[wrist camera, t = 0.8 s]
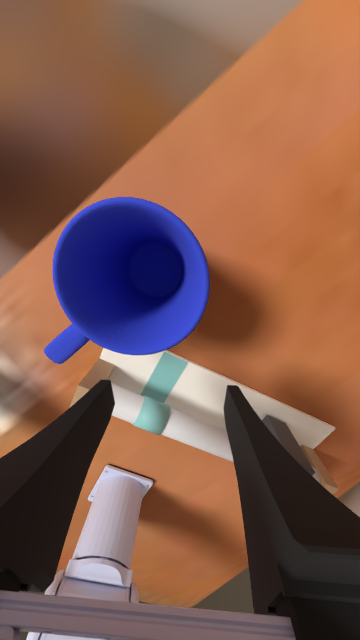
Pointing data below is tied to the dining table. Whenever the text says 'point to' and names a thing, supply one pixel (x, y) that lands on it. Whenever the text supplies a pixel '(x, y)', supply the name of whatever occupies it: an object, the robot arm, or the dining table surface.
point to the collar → (287, 441)
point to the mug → (128, 279)
